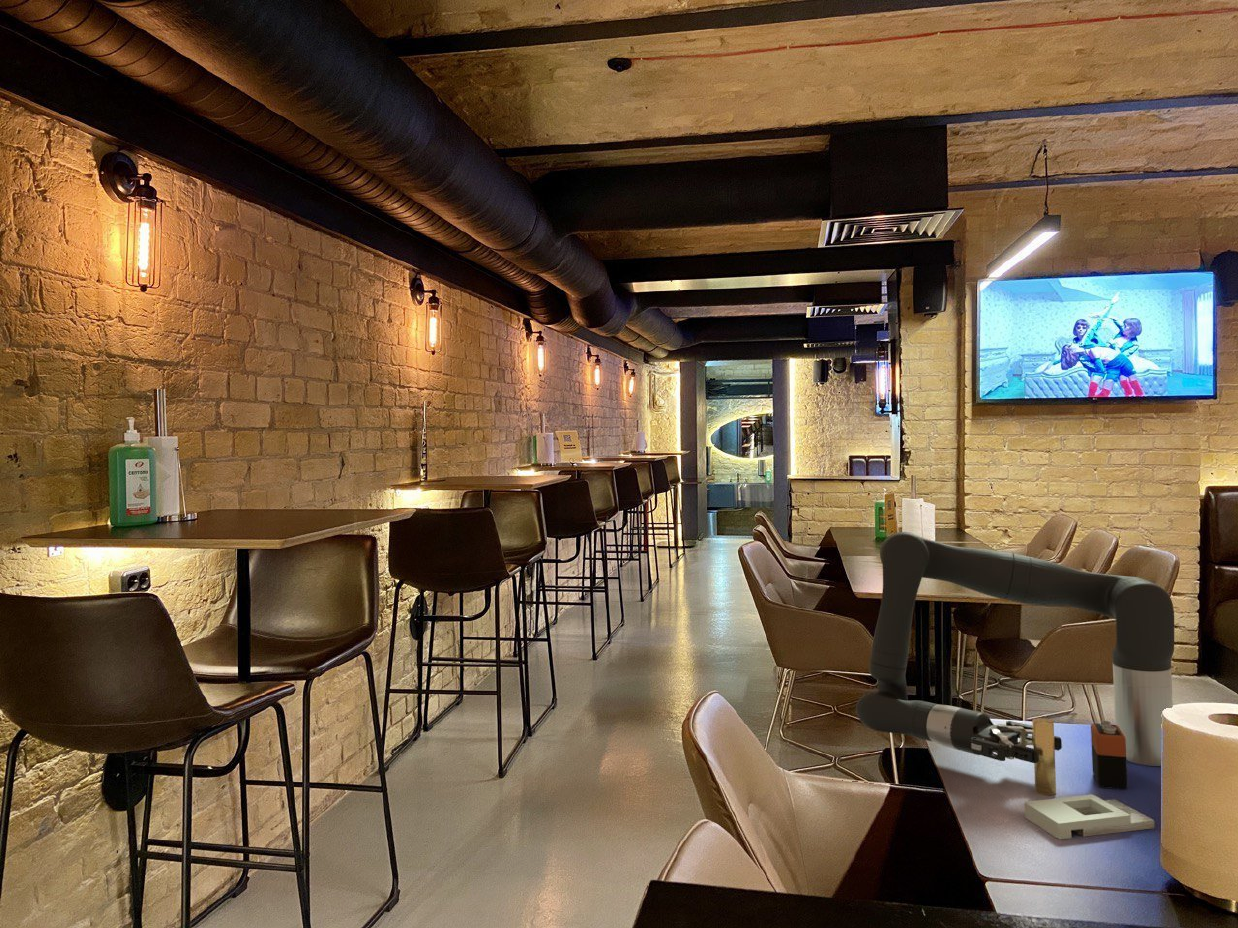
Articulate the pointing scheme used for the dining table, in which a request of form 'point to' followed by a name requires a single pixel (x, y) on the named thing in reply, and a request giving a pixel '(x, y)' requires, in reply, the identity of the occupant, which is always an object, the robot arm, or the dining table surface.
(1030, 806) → the plate with square hole
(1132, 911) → the dining table surface
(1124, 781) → the battery
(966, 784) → the dining table surface
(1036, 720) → the pin
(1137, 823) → the chain end lower
